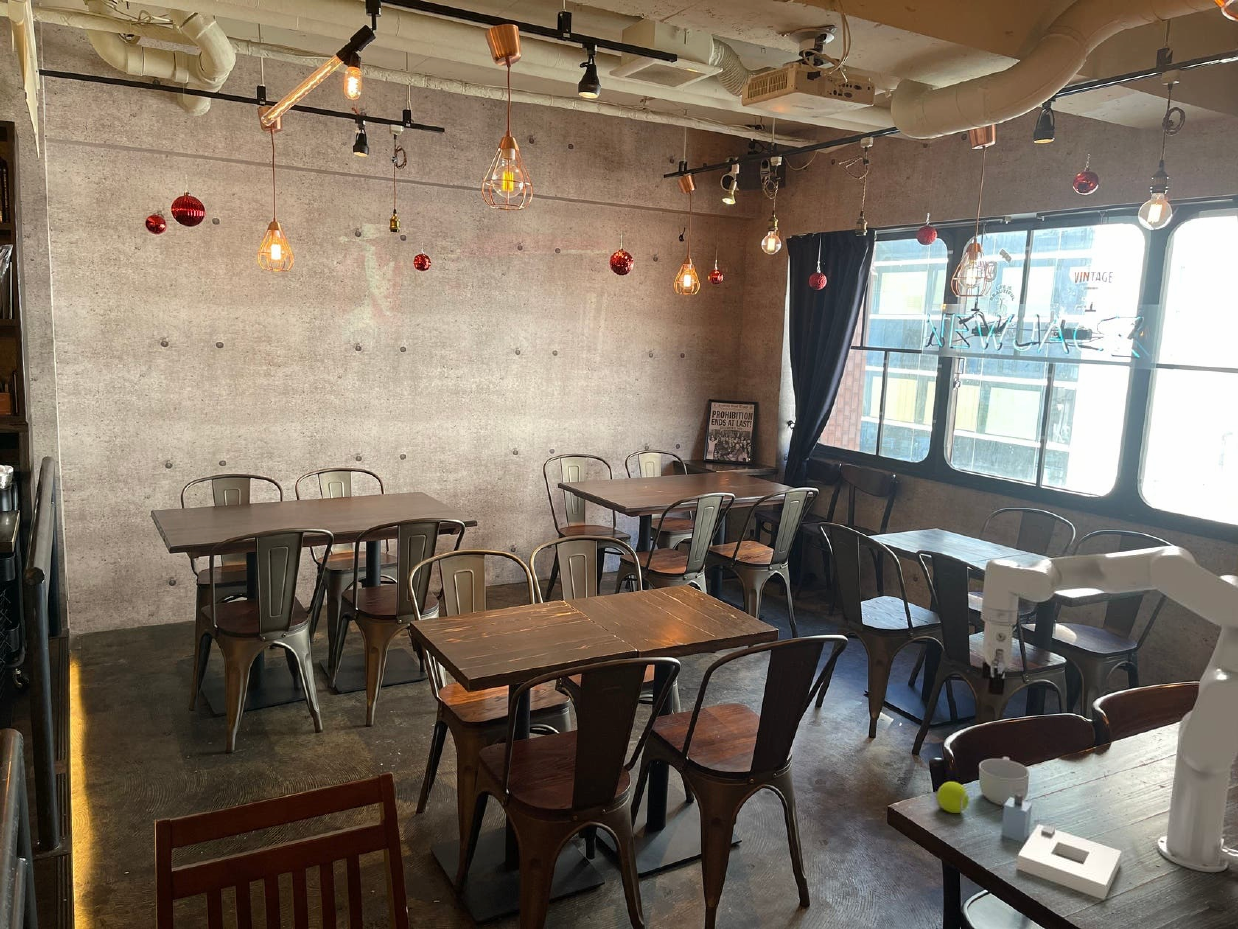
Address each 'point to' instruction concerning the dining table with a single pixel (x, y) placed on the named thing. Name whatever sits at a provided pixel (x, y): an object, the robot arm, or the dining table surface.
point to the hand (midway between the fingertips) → (992, 686)
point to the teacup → (1002, 779)
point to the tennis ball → (952, 797)
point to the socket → (1070, 861)
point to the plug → (1016, 818)
